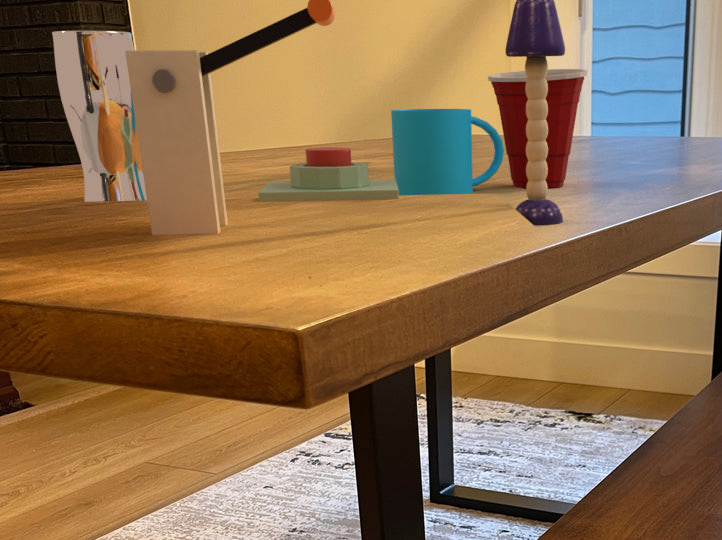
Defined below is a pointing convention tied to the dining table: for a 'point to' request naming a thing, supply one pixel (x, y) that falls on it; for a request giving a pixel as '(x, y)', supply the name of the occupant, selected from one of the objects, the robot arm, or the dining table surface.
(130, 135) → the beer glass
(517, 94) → the plastic cup
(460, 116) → the mug
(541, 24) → the toy lamp
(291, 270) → the dining table surface
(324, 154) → the button
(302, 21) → the lever
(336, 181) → the button box
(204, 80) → the bracket
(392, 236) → the dining table surface
